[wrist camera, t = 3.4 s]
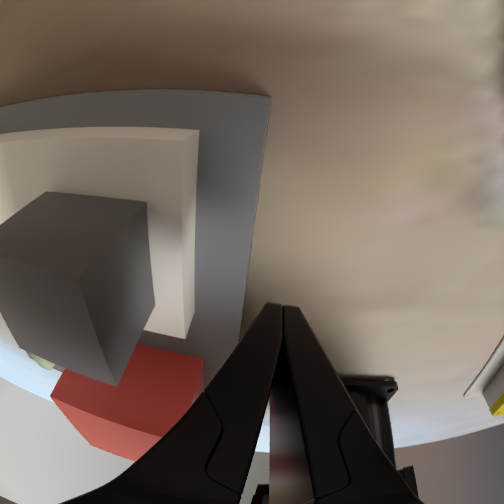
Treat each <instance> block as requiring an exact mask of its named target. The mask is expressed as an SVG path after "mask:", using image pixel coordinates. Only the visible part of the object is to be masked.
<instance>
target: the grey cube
mask: <svg viewBox="0 0 504 504" xmlns="http://www.w3.org/2000/svg"><path fill="white" fill-rule="evenodd" d="M154 307H155V297H154V289H153V280H152V270H151V260H150V248H149V235H148V219H147V202H145V201H136V200H127V199H118V198H109V197H100V196H90V195H80V194H69V193H58V192H47V191H46V192H44V193H43V194H41V195H40V196H39V197H37V198H36V199H34V200H33V201H31V202H30V203H29V204H27V205H26V206H25V207H23V208H22V209H20V210H19V211H18V212H16V213H15V214H14V215H12V216H11V217H10V218H9V219H7V220H6V221H5V222H3V223H2V224H1V225H0V312H1V314H2V316H3V318H4V320H5V322H6V324H7V326H8V328H9V330H10V331H11V333H12V335H13V337H14V339H15V340H16V342H17V344H18V345H19V347H20V348H21V349H23V350H25V351H28V352H30V353H32V354H34V355H36V356H38V357H40V358H43V359H45V360H47V361H50V362H52V363H54V364H57V365H59V366H61V367H64V368H66V369H69V370H71V371H74V372H76V373H79V374H82V375H84V376H87V377H90V378H93V379H95V380H98V381H101V382H104V383H107V384H110V385H113V386H116V387H117V386H118V383H119V381H120V379H121V377H122V375H123V372H124V370H125V368H126V366H127V364H128V361H129V359H130V357H131V355H132V353H133V351H134V348H135V346H136V344H137V342H138V340H139V338H140V336H141V334H142V332H143V329H144V327H145V325H146V323H147V321H148V319H149V317H150V315H151V313H152V311H153V309H154Z"/></svg>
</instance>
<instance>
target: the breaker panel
mask: <svg viewBox="0 0 504 504" xmlns="http://www.w3.org/2000/svg"><path fill="white" fill-rule="evenodd" d="M270 104H271V97H270V96H262V95H254V94H244V93H234V92H222V91H207V90H185V89H135V90H113V91H99V92H88V93H78V94H70V95H62V96H55V97H48V98H42V99H36V100H30V101H25V102H20V103H15V104H10V105H6V106H2V107H0V225H1V224H2V223H3V222H5V221H6V220H7V219H9V218H10V217H11V216H12V215H14V214H15V213H16V212H18V211H19V210H20V209H22V208H23V207H25V206H26V205H27V204H29V203H30V202H31V201H33V200H34V199H36V198H37V197H39V196H40V195H41V194H43V193H44V192H46V191H47V192H58V193H69V194H80V195H90V196H100V197H109V198H118V199H127V200H136V201H145V202H147V219H148V235H149V248H150V260H151V270H152V280H153V289H154V297H155V307H154V309H153V311H152V313H151V315H150V317H149V319H148V321H147V323H146V325H145V327H144V329H143V332H142V334H141V336H140V338H139V340H138V342H137V344H141V345H145V346H149V347H153V348H158V349H162V350H166V351H171V352H175V353H180V354H184V355H189V356H194V357H199V358H204V389H205V387H206V386H207V385H208V383H209V382H210V381H211V379H212V378H213V377H214V375H215V374H216V373H217V371H218V370H219V369H220V367H221V366H222V364H223V363H224V362H225V360H226V359H227V358H228V356H229V355H230V354H231V352H232V351H233V349H234V348H235V347H236V345H237V344H238V342H239V336H240V329H241V321H242V313H243V306H244V298H245V291H246V283H247V276H248V268H249V261H250V253H251V246H252V238H253V231H254V223H255V216H256V208H257V201H258V194H259V186H260V179H261V171H262V164H263V156H264V149H265V141H266V134H267V127H268V119H269V112H270ZM26 353H27V354H28V356H29V358H32V359H34V360H35V361H36V362H37V363H38V364H39V365H40V366H41V367H43V368H45V369H47V370H52V369H53V368H54V369H56V370H58V371H61V372H63V371H64V370H65V368H64V367H61V366H59V365H57V364H54V363H52V362H50V361H47V360H45V359H43V358H40V357H38V356H36V355H34V354H32V353H30V352H28V351H26Z"/></svg>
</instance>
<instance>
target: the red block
mask: <svg viewBox="0 0 504 504" xmlns="http://www.w3.org/2000/svg"><path fill="white" fill-rule="evenodd" d="M202 392H204V358H199V357H194V356H189V355H184V354H180V353H175V352H171V351H166V350H162V349H158V348H153V347H149V346H145V345H141V344H136V346H135V348H134V351H133V353H132V355H131V357H130V359H129V361H128V364H127V366H126V368H125V370H124V372H123V375H122V377H121V379H120V381H119V383H118V386H117V387H116V386H113V385H110V384H107V383H104V382H101V381H98V380H95V379H93V378H90V377H87V376H84V375H82V374H79V373H76V372H74V371H71V370H69V369H66V368H65V370H64V371H63V373H62V375H61V377H60V379H59V380H58V382H57V384H56V386H55V388H54V390H53V391H52V393H51V395H50V397H51V398H52V400H53V401H54V402H55V403H56V405H57V406H58V407H59V409H60V410H61V411H62V412H63V414H64V415H65V416H66V417H67V418H68V419H69V421H70V422H71V423H72V424H73V426H74V427H75V428H76V429H77V430H78V431H79V432H80V434H81V435H82V436H83V437H84V438H85V439H86V440H87V441H88V442H89V443H90V445H92V446H94V447H97V448H99V449H102V450H105V451H107V452H110V453H112V454H115V455H118V456H121V457H123V458H126V459H130V460H132V461H135V462H136V461H137V460H138V459H139V458H140V457H141V456H142V455H144V454H145V453H146V452H147V451H148V450H149V449H150V448H151V447H152V446H153V445H155V444H156V443H157V442H158V441H159V440H160V439H161V438H162V437H163V436H164V435H165V434H166V433H167V432H168V431H169V430H170V429H171V428H172V427H173V426H174V425H175V424H176V423H177V422H178V421H179V420H180V419H181V418H182V416H183V415H184V414H185V413H186V412H187V410H188V409H189V408H190V407H191V406H192V404H193V403H194V402H195V400H196V399H197V398H198V396H199V395H200V394H201V393H202Z"/></svg>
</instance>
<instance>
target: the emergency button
mask: <svg viewBox="0 0 504 504" xmlns="http://www.w3.org/2000/svg"><path fill="white" fill-rule="evenodd" d="M482 395H483V396H484V398H485V400H486V402H487V404H488V406H489V408H490V409H489V410H490V412H491V414H492V415H493V417H496V416H499V415H502V414H504V337H503V338H502V340H501V342H500V343H499V345H498V346H497V348H496V350H495V351H494V353H493V354H492V356H491V357H490V359H489V360H488V362H487V363H486V365H485V366H484V368H483V369H482V370H481V372H480V373H479V375H478V376H477V377H476V379H475V380H474V381H473V383H472V384H471V385H470V387H469V388H468V389H467V391H466V392H465V393H464V398H466V399H470V398H474V397H478V396H482Z"/></svg>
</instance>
